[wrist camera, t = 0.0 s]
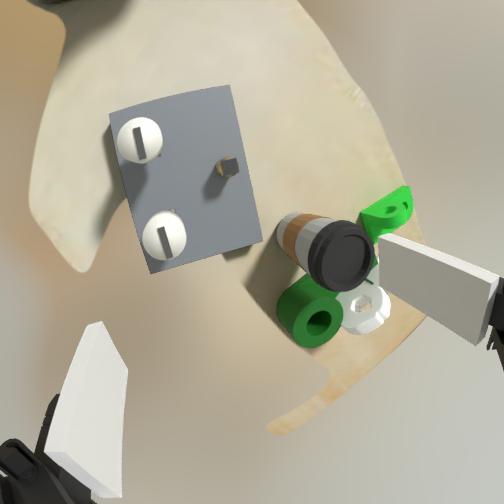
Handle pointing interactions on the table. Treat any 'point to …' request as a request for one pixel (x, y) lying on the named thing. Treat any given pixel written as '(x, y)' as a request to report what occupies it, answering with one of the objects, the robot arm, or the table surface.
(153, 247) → the knob
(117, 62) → the table surface
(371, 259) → the coffee cup
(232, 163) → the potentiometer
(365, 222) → the mechanical part
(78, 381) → the robot arm
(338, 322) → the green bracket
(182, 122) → the plate
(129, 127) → the knob
